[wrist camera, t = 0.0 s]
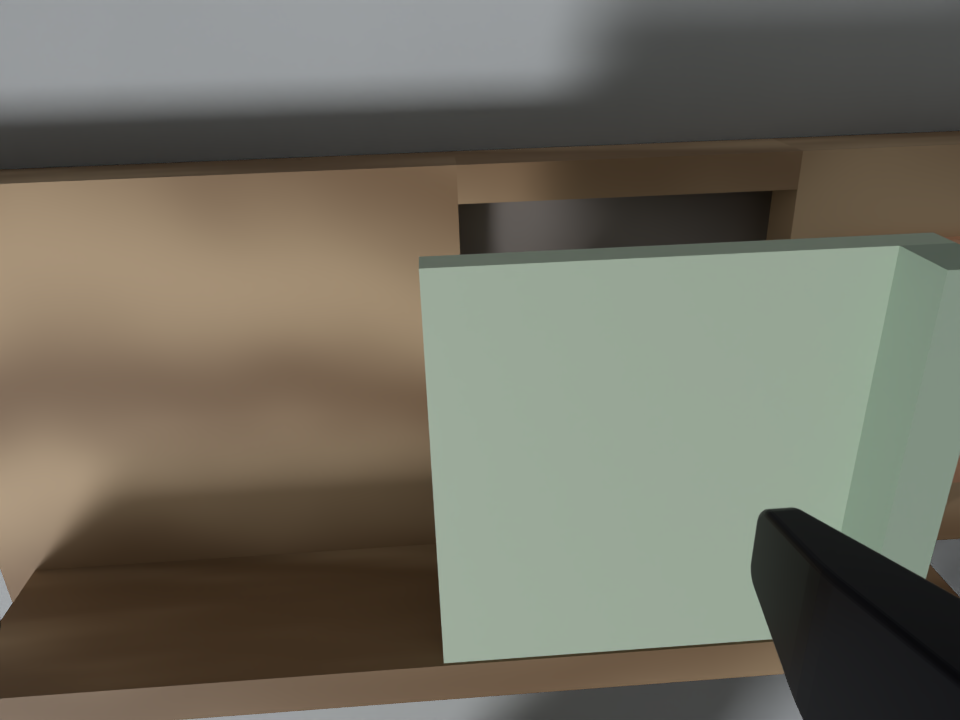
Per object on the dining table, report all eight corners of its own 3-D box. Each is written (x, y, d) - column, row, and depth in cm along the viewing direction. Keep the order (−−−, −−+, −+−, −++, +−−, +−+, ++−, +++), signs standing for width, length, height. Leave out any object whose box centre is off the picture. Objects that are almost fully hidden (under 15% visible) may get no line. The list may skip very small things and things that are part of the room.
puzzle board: (1010, 497, 28) (1182, 643, 22) (40, 561, 26) (-81, 739, 20) (1126, 124, 23) (1403, 172, 16) (-89, 173, 21) (-312, 248, 14)
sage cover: (849, 610, 21) (898, 681, 19) (442, 640, 21) (445, 715, 18) (933, 232, 17) (1010, 267, 14) (418, 256, 16) (418, 296, 14)
